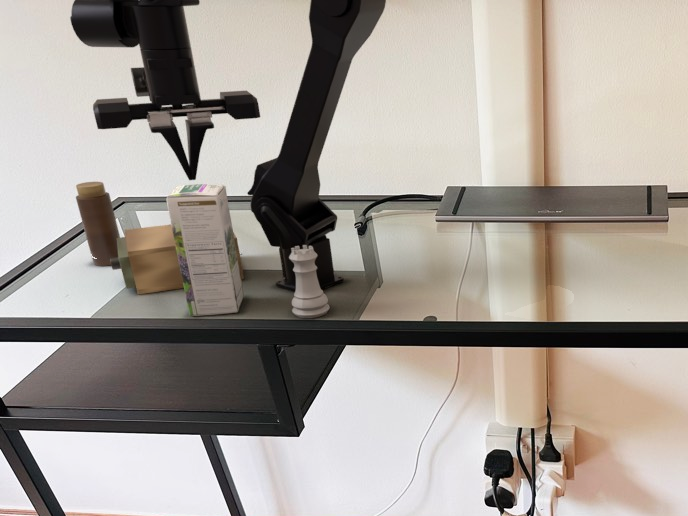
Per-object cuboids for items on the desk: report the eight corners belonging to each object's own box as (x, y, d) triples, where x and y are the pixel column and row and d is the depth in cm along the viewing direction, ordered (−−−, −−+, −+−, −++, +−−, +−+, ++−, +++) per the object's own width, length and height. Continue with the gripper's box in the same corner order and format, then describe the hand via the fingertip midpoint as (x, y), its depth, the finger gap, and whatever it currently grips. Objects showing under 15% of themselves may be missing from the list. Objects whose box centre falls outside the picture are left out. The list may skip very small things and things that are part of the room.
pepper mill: (129, 262, 118) (109, 184, 113) (97, 268, 116) (76, 189, 111) (121, 255, 121) (102, 179, 116) (90, 260, 119) (69, 183, 114)
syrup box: (197, 300, 104) (172, 184, 97) (246, 297, 105) (225, 182, 98) (189, 317, 99) (162, 196, 92) (240, 313, 100) (217, 193, 93)
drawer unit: (138, 294, 106) (127, 251, 104) (134, 269, 115) (124, 229, 113) (244, 279, 111) (236, 237, 109) (233, 256, 120) (225, 217, 118)
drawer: (116, 290, 105) (107, 259, 104) (114, 268, 113) (106, 238, 112) (226, 274, 111) (220, 244, 109) (217, 254, 119) (211, 226, 117)
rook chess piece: (320, 320, 98) (311, 255, 94) (285, 317, 99) (275, 252, 95) (336, 307, 102) (328, 243, 98) (302, 304, 102) (293, 241, 99)
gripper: (237, 41, 109) (256, 161, 117) (80, 46, 102) (111, 174, 109) (250, 46, 100) (270, 176, 108) (79, 53, 93) (113, 192, 101)
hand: (192, 179), depth 107 cm, fingers closed
